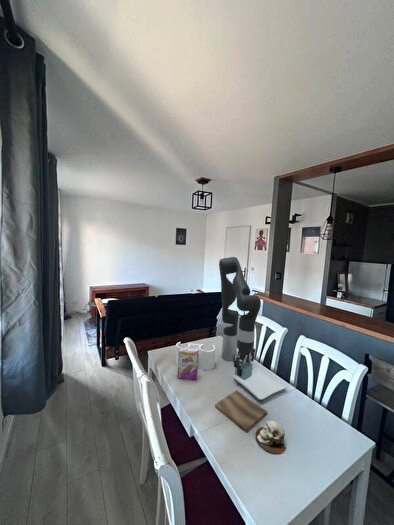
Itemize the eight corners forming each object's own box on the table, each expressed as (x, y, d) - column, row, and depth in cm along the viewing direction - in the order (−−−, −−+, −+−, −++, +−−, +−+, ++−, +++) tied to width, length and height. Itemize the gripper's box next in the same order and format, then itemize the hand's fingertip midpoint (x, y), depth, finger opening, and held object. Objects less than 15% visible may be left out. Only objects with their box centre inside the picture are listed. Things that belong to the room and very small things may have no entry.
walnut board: (236, 393, 116) (236, 390, 116) (266, 414, 103) (267, 411, 102) (215, 407, 106) (215, 404, 105) (246, 432, 92) (246, 429, 92)
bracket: (173, 366, 138) (174, 348, 136) (177, 358, 147) (177, 341, 146) (213, 371, 135) (214, 352, 133) (214, 362, 144) (215, 345, 143)
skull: (262, 454, 82) (257, 420, 88) (255, 452, 90) (250, 421, 96) (293, 453, 82) (286, 420, 88) (283, 451, 91) (277, 420, 97)
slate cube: (242, 370, 106) (242, 359, 106) (251, 375, 102) (252, 364, 102) (234, 374, 103) (235, 363, 102) (244, 380, 98) (245, 368, 98)
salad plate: (287, 391, 120) (288, 385, 119) (260, 405, 108) (260, 399, 108) (257, 371, 138) (258, 365, 137) (231, 381, 126) (232, 375, 126)
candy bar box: (177, 378, 126) (178, 351, 124) (178, 373, 131) (179, 347, 129) (196, 380, 125) (198, 353, 123) (197, 375, 129) (199, 348, 128)
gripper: (248, 331, 108) (246, 364, 110) (229, 339, 99) (226, 374, 100) (261, 337, 102) (259, 371, 104) (242, 345, 93) (240, 383, 95)
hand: (243, 373), depth 102 cm, fingers closed on slate cube, 5 cm apart
